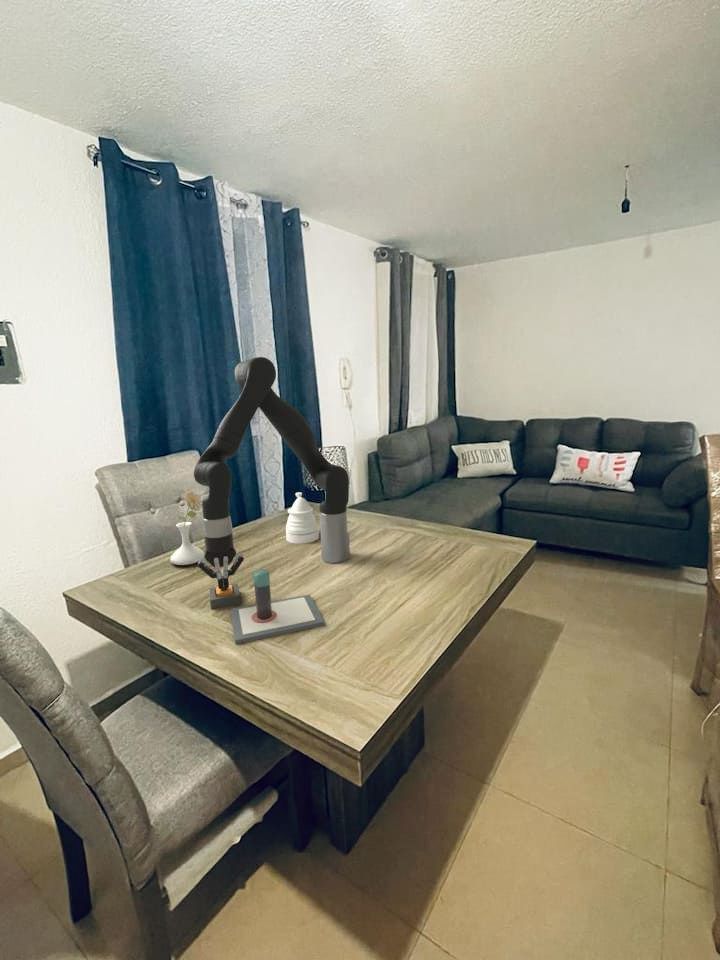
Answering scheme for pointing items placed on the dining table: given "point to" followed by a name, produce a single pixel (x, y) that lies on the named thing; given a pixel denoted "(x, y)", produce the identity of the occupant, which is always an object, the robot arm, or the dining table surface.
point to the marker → (262, 594)
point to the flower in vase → (187, 550)
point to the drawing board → (275, 619)
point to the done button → (225, 592)
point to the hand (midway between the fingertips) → (223, 589)
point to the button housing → (225, 597)
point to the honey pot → (301, 522)
